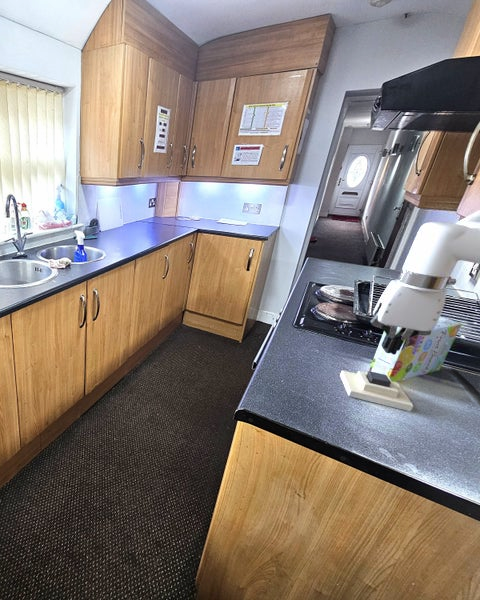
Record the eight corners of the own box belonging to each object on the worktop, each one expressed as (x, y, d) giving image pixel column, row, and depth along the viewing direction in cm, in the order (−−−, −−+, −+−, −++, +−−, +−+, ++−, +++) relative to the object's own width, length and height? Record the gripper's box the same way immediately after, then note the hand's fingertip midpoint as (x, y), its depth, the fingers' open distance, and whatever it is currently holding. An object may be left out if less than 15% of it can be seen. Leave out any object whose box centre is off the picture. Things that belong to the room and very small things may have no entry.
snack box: (416, 360, 97) (438, 314, 91) (440, 371, 92) (465, 323, 86) (365, 373, 91) (384, 326, 85) (387, 385, 86) (410, 336, 80)
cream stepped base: (395, 388, 85) (400, 376, 84) (410, 411, 77) (417, 399, 76) (339, 375, 90) (343, 364, 89) (348, 396, 82) (353, 384, 80)
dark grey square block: (383, 380, 83) (386, 374, 82) (388, 388, 80) (391, 382, 80) (365, 376, 85) (368, 370, 84) (370, 384, 82) (372, 378, 81)
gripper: (458, 281, 72) (422, 352, 79) (374, 270, 78) (347, 337, 85) (478, 291, 66) (436, 367, 73) (384, 278, 72) (354, 350, 79)
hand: (388, 351), depth 79 cm, fingers closed
